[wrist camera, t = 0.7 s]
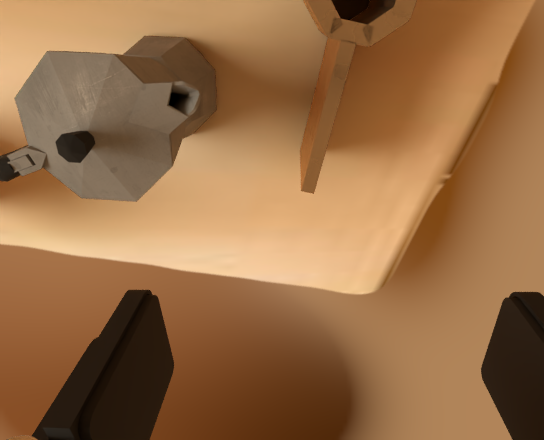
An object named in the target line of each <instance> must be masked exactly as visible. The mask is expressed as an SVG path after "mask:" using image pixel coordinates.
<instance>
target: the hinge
mask: <svg viewBox="0 0 544 440" xmlns="http://www.w3.org/2000/svg"><path fill="white" fill-rule="evenodd" d="M303 1H304V3H305V5H306V7H307V9H308V11H309V13H310V14H311V16H312V18H313V20H314V22H315V24H316V25H317V27H318V29H319V30H320V31H321V32H322V33H323V34H324V35H325V36H327V37H328V40H327V44H326V48H325V52H324V56H323V60H322V64H321V68H320V72H319V76H318V80H317V84H316V88H315V92H314V96H313V101H312V105H311V109H310V113H309V117H308V121H307V125H306V129H305V133H304V137H303V141H302V145H301V149H300V164H301V191H304V192H308V193H313V194H314V191H315V188H316V184H317V181H318V177H319V174H320V170H321V166H322V163H323V159H324V156H325V152H326V149H327V145H328V142H329V138H330V135H331V131H332V128H333V124H334V121H335V117H336V113H337V110H338V106H339V103H340V99H341V96H342V92H343V89H344V85H345V82H346V78H347V75H348V71H349V68H350V64H351V61H352V57H353V53H354V50H355V46H356V44H357V45H361V46H366V47H368V46H370V47H371V46H372V45H374V44H375V43H377V42H378V41H380V40H381V39H383V38H384V37H386V36H387V35H389V34H390V33H392V32H393V31H395V30H396V29H398V28H399V27H401V26H402V25H404V24H405V23H407V22H408V21H409V20H408V19H411V16H412V13H413V10H414V7H415V4H416V1H417V0H370V1H369V5H368V8H367V9H365V10H364V11H362V12H361V13H360V14H358V15H357V16H355V17H354V18H352V19H351V20H350V21H349V20H345V19H341V18H340V16H339V14H338V13H337V11H336V9H335V7H334V5H333V3H332V1H331V0H303Z"/></svg>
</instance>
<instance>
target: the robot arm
mask: <svg viewBox="0 0 544 440" xmlns="http://www.w3.org/2000/svg"><path fill="white" fill-rule="evenodd" d="M173 369H174V361H173V356H172V352H171V348H170V344H169V340H168V337H167V332H166V328H165V324H164V320H163V316H162V312H161V308H160V304H159V300H158V297H157V296H156V295H152V293H151V291H150V290H128V291H127V292H126V293H125V295H124V297H123V298H122V300H121V301H120V303H119V305H118V307H117V308H116V310H115V311H114V313H113V315H112V316H111V318H110V319H109V321H108V323H107V324H106V326H105V327H104V329H103V331H102V332H101V334H100V335H99V337H98V338H96V339H94V340H93V341H92V342H91V343H90V345H89V346H88V348H87V350H86V351H85V353H84V354H83V356H82V357H81V359H80V361H79V362H78V364H77V365H76V367H75V368H74V370H73V372H72V373H71V375H70V376H69V378H68V379H67V381H66V383H65V384H64V386H63V388H62V389H61V391H60V392H59V394H58V395H57V397H56V399H55V400H54V402H53V403H52V405H51V406H50V408H49V410H48V411H47V413H46V414H45V416H44V417H43V419H42V421H41V422H40V424H39V425H38V427H37V429H36V430H35V432H34V433H33V435H32V436H25V435H22V436H17V437H12V438H10V439H7V440H150V437H151V434H152V431H153V428H154V425H155V422H156V420H157V417H158V414H159V411H160V408H161V405H162V403H163V400H164V397H165V394H166V391H167V388H168V385H169V383H170V380H171V377H172V374H173ZM481 374H482V379H483V381H484V383H485V385H486V387H487V389H488V391H489V393H490V395H491V397H492V399H493V401H494V403H495V405H496V407H497V409H498V411H499V413H500V415H501V417H502V419H503V421H504V423H505V425H506V427H507V429H508V431H509V433H510V435H511V437H512V439H513V440H544V296H543V295H542V294H540V293H538V292H513V293H512V294H511V295H510V296H509V298H505V299H504V300H503V302H502V306H501V309H500V312H499V315H498V318H497V321H496V324H495V327H494V330H493V333H492V336H491V339H490V343H489V345H488V349H487V352H486V355H485V358H484V361H483V364H482V368H481Z"/></svg>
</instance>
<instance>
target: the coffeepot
mask: <svg viewBox="0 0 544 440" xmlns="http://www.w3.org/2000/svg"><path fill="white" fill-rule="evenodd" d="M15 101H16V105H17V108H18V112H19V115H20V119H21V122H22V125H23V129H24V132H25V136H26V139H27V143H28V145H27V146H24V147H22V148H20V149H18V150H15V151H13V152H10V153H7V154H5V155H2V156H0V181H9V180H11V179H14V178H16V177H18V176H20V175H21V176H24V175H27V174H29V173H32V172H35V171H37V170H40V169H42V168H45V169H46V170H47V171H48V172H50V173H51V174H52V175H53V176H55V177H56V178H57V179H58V180H60V181H61V182H62V183H63V184H64V185H66V186H67V187H68V188H69V189H71V190H72V191H73V192H74V193H76V194H77V195H78V196H79V197H81V198H86V199H102V200H119V201H136V202H137V201H138V200H139V199H140V198H141V197H142V196H143V195H144V194H145V193H146V192H147V191H148V190H149V189H150V188H151V187H152V186H153V185H154V184H155V183H156V182H157V181H158V180H159V179H160V178H161V177H162V176H163V175H164V174H165V173H166V172H167V171H168V170H169V169H170V168H171V167H172V166H173V164H174V161H175V158H176V155H177V153H178V150H179V147H180V144H181V141H182V139H183V138H185V137H187V136H190V135H192V134H193V133H194V132H195V131H196V130H197V129H198V128H199V127H200V126H201V125H202V124H203V123H204V122H205V121H206V120H207V119H208V118H209V117H210V116H211V115H212V114H213V113H214V112H215V111H216V84H215V69H214V68H213V67H212V66H211V65H210V64H209V63H208V62H207V60H206V59H205V58H204V57H203V56H202V54H201V53H200V52H199V51H197V50H196V49H195V48H194V47H193V46H192V44H191V43H190V42H189V41H188V40H187V39H186V38H181V37H159V36H144V37H143V38H142V39H141V40H140V41H138V42H137V43H136V44H135V45H134V46H133V47H131V48H130V49H129V50H128V51H127V52H126V53H124V54H123V55H118V54H106V53H90V52H69V51H47V52H46V53H45V55H44V56H43V58H42V59H41V60H40V62H39V63H38V65H37V66H36V68H35V69H34V71H33V72H32V74H31V75H30V76H29V78H28V79H27V81H26V82H25V84H24V85H23V87H22V88H21V90H20V91H19V92H18V94H17V95H16V97H15Z"/></svg>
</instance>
